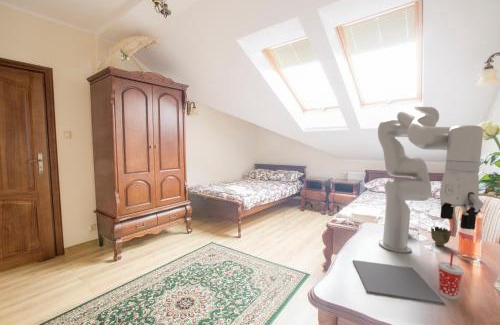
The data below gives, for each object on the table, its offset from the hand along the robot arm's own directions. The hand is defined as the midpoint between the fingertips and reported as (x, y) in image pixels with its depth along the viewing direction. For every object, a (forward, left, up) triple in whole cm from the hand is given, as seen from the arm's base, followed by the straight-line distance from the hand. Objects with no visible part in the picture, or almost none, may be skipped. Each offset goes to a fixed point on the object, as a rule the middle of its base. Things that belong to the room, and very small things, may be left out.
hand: (456, 223), depth 71 cm
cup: (-42, +19, -23) cm, 52 cm away
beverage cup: (0, 0, -23) cm, 23 cm away
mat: (-4, -15, -23) cm, 27 cm away
